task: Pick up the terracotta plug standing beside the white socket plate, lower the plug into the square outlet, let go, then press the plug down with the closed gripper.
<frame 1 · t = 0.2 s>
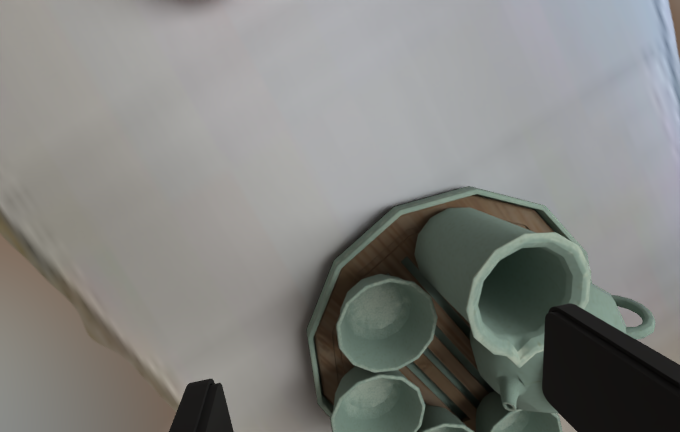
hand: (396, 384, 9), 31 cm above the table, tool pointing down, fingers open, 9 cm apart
tea set: (448, 327, 47), on the table
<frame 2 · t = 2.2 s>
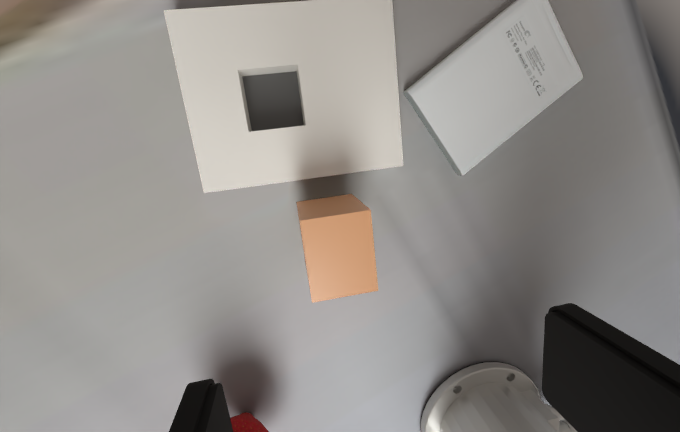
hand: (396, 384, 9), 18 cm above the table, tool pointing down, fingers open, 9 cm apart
strawberry: (248, 413, 30), on the table
external hard drive: (486, 87, 27), on the table
socket: (294, 100, 24), on the table
plug: (324, 222, 27), on the table
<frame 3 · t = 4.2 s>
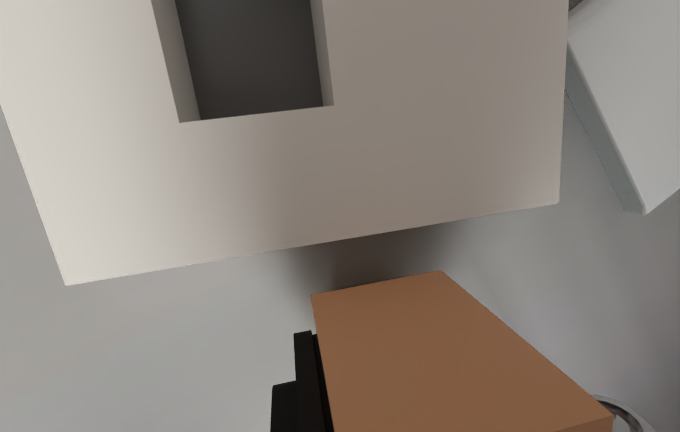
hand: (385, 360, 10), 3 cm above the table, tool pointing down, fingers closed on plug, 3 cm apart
socket: (302, 50, 10), on the table
plug: (365, 314, 13), on the table, touching gripper
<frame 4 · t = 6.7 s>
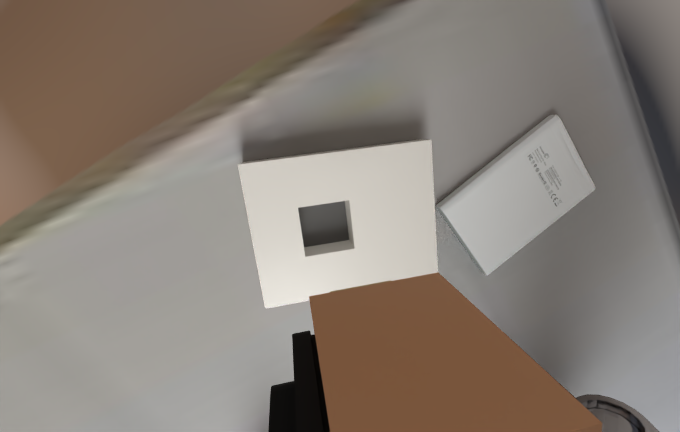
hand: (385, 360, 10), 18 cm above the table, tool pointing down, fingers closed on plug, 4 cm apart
external hard drive: (508, 195, 30), on the table
socket: (341, 218, 27), on the table
plug: (363, 313, 13), point 15 cm above the table, touching gripper
when the fingers open (3 cm above the table, at t = 9.0 s): plug stays where it is, resting on socket.
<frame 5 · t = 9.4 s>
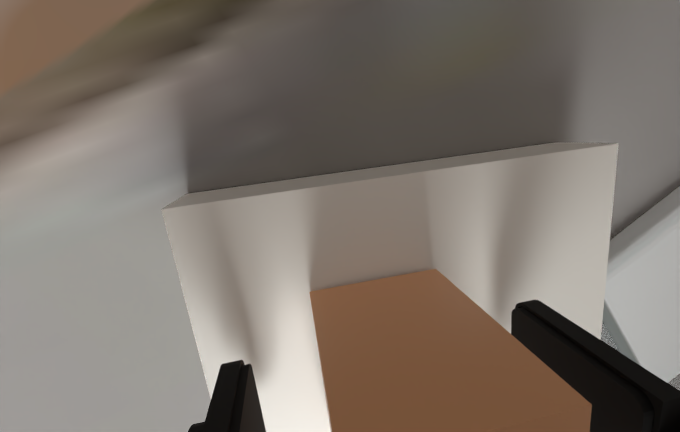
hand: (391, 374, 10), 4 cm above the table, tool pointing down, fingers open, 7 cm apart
socket: (397, 300, 14), on the table
plug: (363, 311, 13), resting on socket
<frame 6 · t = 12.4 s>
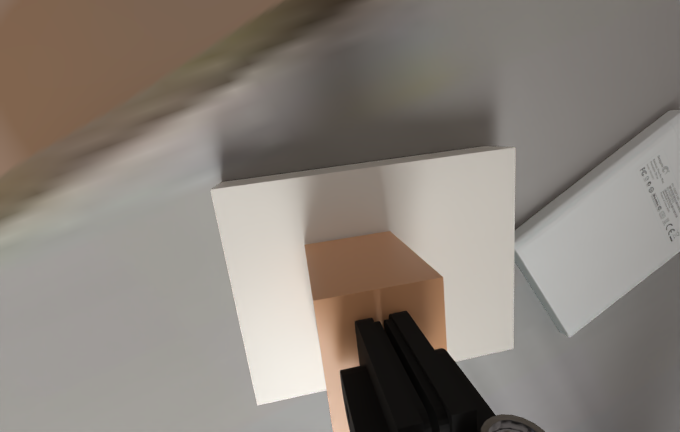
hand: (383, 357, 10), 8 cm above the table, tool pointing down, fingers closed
external hard drive: (599, 224, 21), on the table
socket: (370, 261, 19), on the table
plug: (345, 268, 18), resting on socket, touching gripper
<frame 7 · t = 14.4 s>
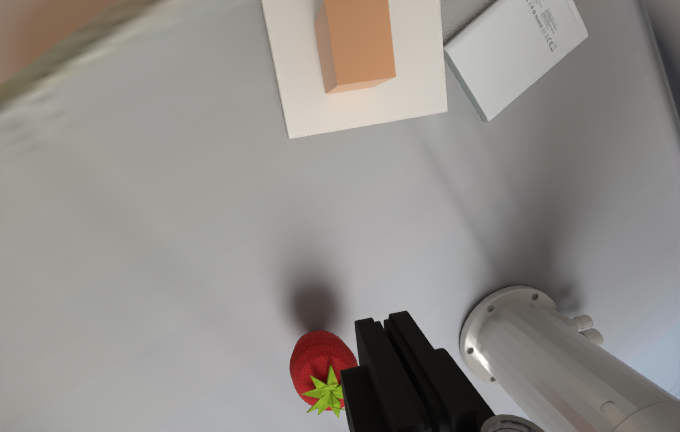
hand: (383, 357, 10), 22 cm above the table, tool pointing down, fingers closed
strawberry: (317, 335, 35), on the table
external hard drive: (507, 46, 32), on the table
socket: (354, 60, 29), on the table
plug: (339, 63, 29), resting on socket
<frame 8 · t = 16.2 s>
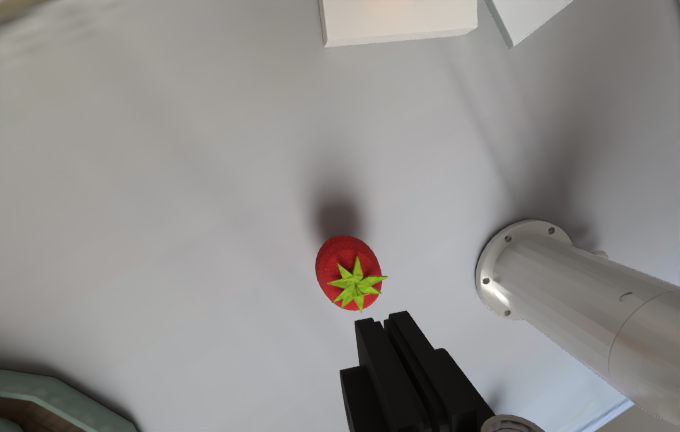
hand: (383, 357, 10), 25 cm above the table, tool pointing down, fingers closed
strawberry: (339, 252, 36), on the table
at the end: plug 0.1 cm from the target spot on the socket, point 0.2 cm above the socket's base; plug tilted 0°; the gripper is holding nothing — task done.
